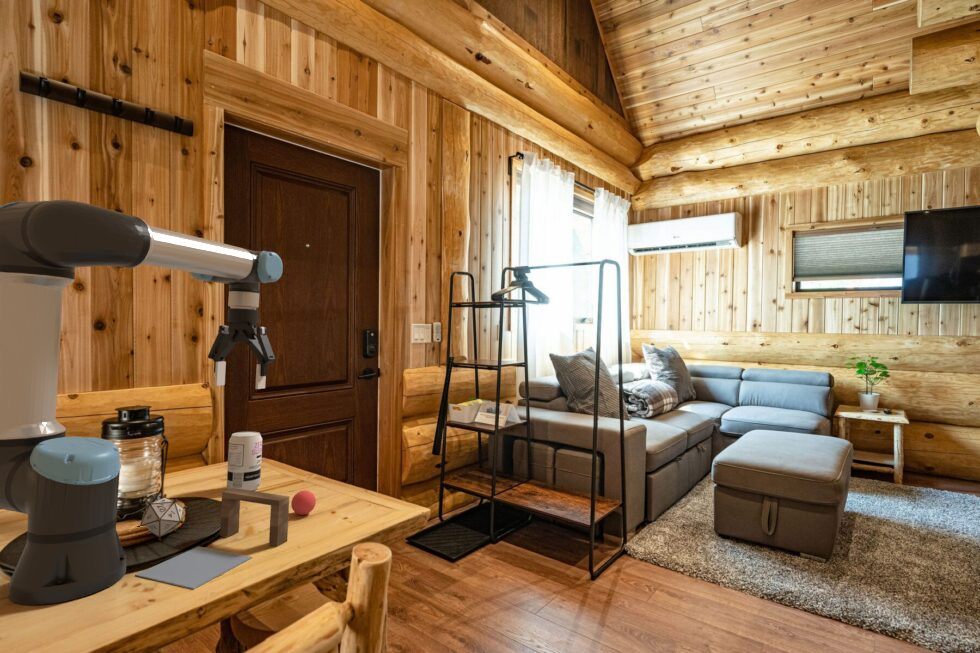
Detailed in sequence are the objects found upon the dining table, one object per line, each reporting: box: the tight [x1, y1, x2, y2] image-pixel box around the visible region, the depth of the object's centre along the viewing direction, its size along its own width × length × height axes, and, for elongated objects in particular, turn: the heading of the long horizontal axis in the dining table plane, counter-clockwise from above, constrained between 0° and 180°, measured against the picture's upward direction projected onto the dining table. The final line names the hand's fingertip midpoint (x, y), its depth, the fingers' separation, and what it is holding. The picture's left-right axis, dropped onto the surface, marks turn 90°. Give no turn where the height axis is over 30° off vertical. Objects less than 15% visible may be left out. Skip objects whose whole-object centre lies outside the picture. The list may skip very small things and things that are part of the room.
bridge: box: [219, 488, 290, 547], centre depth 106 cm, size 3×14×9 cm, turn 73°
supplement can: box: [226, 431, 263, 491], centre depth 139 cm, size 8×8×15 cm
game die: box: [136, 493, 188, 541], centre depth 105 cm, size 9×8×10 cm
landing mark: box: [135, 545, 253, 590], centre depth 92 cm, size 13×13×1 cm
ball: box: [290, 489, 317, 516], centre depth 121 cm, size 6×6×6 cm
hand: (239, 387), depth 137 cm, fingers open, 13 cm apart
